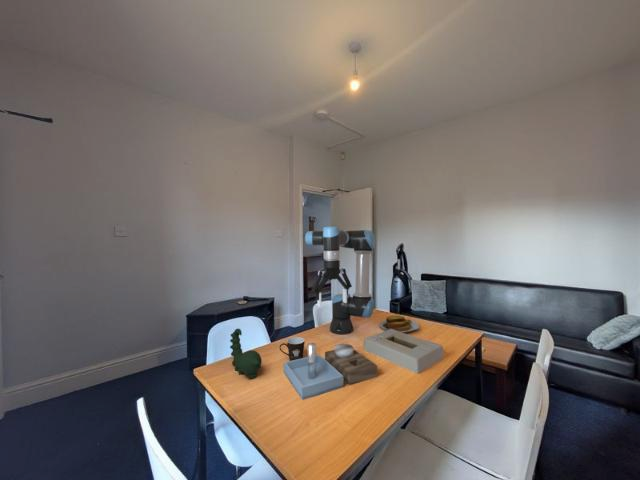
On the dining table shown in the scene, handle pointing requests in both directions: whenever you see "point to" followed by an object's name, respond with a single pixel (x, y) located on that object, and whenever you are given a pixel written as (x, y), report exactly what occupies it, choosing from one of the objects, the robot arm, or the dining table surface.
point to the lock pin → (311, 360)
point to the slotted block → (404, 350)
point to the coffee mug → (294, 348)
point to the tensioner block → (351, 364)
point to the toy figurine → (244, 357)
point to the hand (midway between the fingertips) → (332, 304)
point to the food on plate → (399, 324)
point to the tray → (307, 387)
